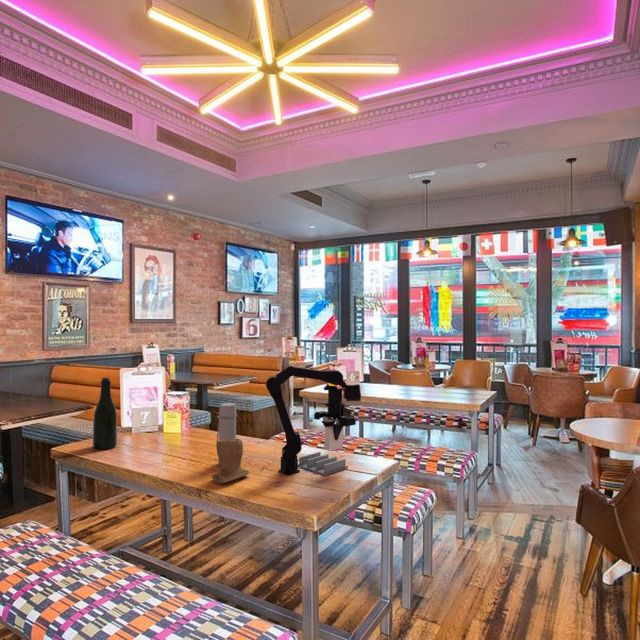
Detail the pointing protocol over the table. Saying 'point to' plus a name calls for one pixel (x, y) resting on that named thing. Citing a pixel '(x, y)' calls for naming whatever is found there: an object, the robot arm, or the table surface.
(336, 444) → the beige upright tile
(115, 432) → the dark wine bottle
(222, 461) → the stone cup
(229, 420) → the water bottle
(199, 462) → the table surface
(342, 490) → the table surface
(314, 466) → the dish rack
